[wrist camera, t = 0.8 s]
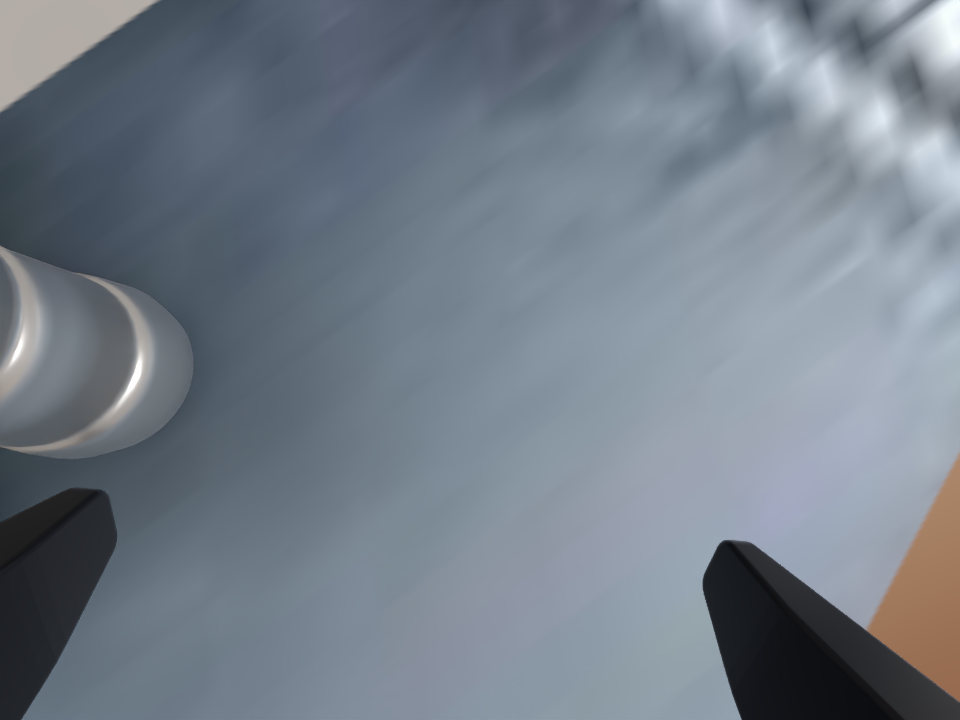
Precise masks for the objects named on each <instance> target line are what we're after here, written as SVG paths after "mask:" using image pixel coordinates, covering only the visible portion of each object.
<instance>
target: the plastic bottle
mask: <svg viewBox="0 0 960 720" xmlns="http://www.w3.org/2000/svg"><path fill="white" fill-rule="evenodd" d="M193 372H194V356H193V352H192V347H191V343H190V341H189V339H188V336H187V334H186V332H185V330H184V329H183V327H182V326H181V325H180V324H179V322H178V321H177V320H176V319H175V318H174V317H173V316H172V315H171V314H170V313H169V312H168V311H167V310H166V309H165V308H164V307H163V306H162V305H161V304H159V303H158V302H157V301H156V300H154V299H153V298H152V297H151V296H149V295H148V294H146V293H144V292H142V291H140V290H138V289H136V288H133V287H130V286H127V285H123V284H120V283H117V282H114V281H110V280H107V279H103V278H99V277H96V276H92V275H86V274H80V273H73V272H70V271H68V270H65V269H62V268H59V267H56V266H54V265H51V264H48V263H45V262H42V261H39V260H37V259H34V258H31V257H28V256H25V255H23V254H20V253H17V252H14V251H11V250H9V249H6V248H4V247H2V246H0V447H3V448H7V449H10V450H14V451H18V452H22V453H26V454H31V455H37V456H44V457H51V458H61V459H81V458H89V457H96V456H99V455H103V454H106V453H110V452H114V451H117V450H120V449H124V448H127V447H130V446H133V445H136V444H137V443H139V442H141V441H143V440H145V439H147V438H149V437H151V436H152V435H153V434H155V433H156V432H157V431H159V430H160V429H161V428H163V427H164V426H165V425H166V424H167V423H168V422H169V421H170V420H171V419H172V418H173V416H174V415H175V414H176V413H177V411H178V410H179V408H180V407H181V405H182V404H183V402H184V400H185V398H186V396H187V393H188V391H189V389H190V386H191V381H192V377H193Z"/></svg>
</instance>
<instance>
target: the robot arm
mask: <svg viewBox="0 0 960 720" xmlns="http://www.w3.org/2000/svg"><path fill="white" fill-rule="evenodd" d="M116 542H117V530H116V525H115V521H114V516H113V512H112V507H111V503H110V499H109V496H108V494H107V493H106V492H105V491H103V490H100V489H88V488H70V489H67V490H65V491H63V492H61V493H59V494H56V495H54V496H52V497H50V498H48V499H46V500H44V501H42V502H40V503H38V504H36V505H34V506H32V507H30V508H28V509H26V510H24V511H22V512H20V513H18V514H16V515H14V516H12V517H10V518H8V519H6V520H4V521H2V522H0V720H21V719H22V718H23V716H24V714H25V713H26V711H27V710H28V708H29V707H30V705H31V703H32V702H33V700H34V699H35V697H36V695H37V694H38V692H39V691H40V689H41V688H42V686H43V684H44V683H45V681H46V679H47V678H48V676H49V674H50V673H51V671H52V669H53V668H54V666H55V665H56V663H57V661H58V659H59V657H60V655H61V654H62V652H63V650H64V648H65V646H66V644H67V642H68V641H69V639H70V637H71V635H72V633H73V631H74V629H75V627H76V625H77V623H78V621H79V619H80V617H81V615H82V613H83V611H84V609H85V607H86V605H87V603H88V601H89V599H90V597H91V595H92V593H93V591H94V589H95V587H96V585H97V583H98V581H99V579H100V577H101V575H102V573H103V571H104V569H105V567H106V565H107V563H108V561H109V559H110V557H111V555H112V553H113V551H114V549H115V546H116ZM703 592H704V596H705V600H706V603H707V607H708V610H709V614H710V618H711V621H712V625H713V628H714V632H715V635H716V639H717V643H718V646H719V650H720V653H721V657H722V661H723V664H724V668H725V671H726V675H727V678H728V682H729V685H730V688H731V691H732V694H733V697H734V700H735V703H736V706H737V709H738V711H739V714H740V717H741V719H742V720H960V702H959V701H958V700H956V699H955V698H954V697H953V696H951V695H950V694H949V693H947V692H946V691H945V690H943V689H942V688H941V687H939V686H938V685H937V684H936V683H934V682H933V681H932V680H930V679H929V678H928V677H926V676H925V675H924V674H922V673H921V672H920V671H918V670H917V669H916V668H914V667H913V666H912V665H911V664H909V663H908V662H907V661H905V660H904V659H903V658H901V657H900V656H899V655H898V654H896V653H895V652H894V651H892V650H891V649H890V648H888V647H887V646H886V645H885V644H883V643H882V642H881V641H879V640H878V639H877V638H875V637H874V636H873V635H871V634H870V633H869V632H867V631H866V630H865V629H864V628H862V627H861V626H860V625H858V624H857V623H856V622H854V621H853V620H852V619H850V618H849V617H848V616H847V615H845V614H844V613H843V612H841V611H840V610H839V609H837V608H836V607H835V606H833V605H832V604H831V603H830V602H828V601H827V600H826V599H824V598H823V597H822V596H820V595H819V594H818V593H816V592H815V591H814V590H813V589H811V588H810V587H809V586H807V585H806V584H805V583H803V582H802V581H801V580H799V579H798V578H797V577H796V576H794V575H793V574H792V573H790V572H789V571H788V570H786V569H785V568H784V567H782V566H781V565H780V564H778V563H777V562H776V561H775V560H773V559H772V558H771V557H769V556H768V555H767V554H765V553H764V552H763V551H761V550H760V549H759V548H758V547H756V546H755V545H753V544H752V543H750V542H746V541H736V540H724V541H722V542H721V543H720V544H719V545H718V547H717V549H716V551H715V553H714V555H713V557H712V559H711V561H710V563H709V565H708V567H707V569H706V571H705V574H704V577H703Z"/></svg>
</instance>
